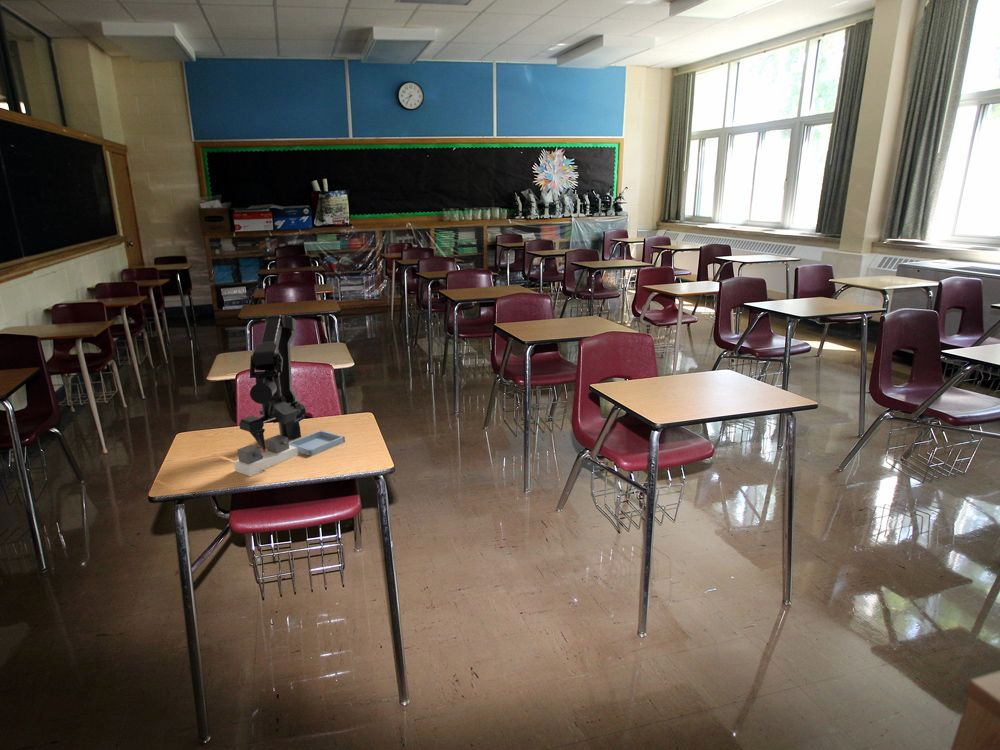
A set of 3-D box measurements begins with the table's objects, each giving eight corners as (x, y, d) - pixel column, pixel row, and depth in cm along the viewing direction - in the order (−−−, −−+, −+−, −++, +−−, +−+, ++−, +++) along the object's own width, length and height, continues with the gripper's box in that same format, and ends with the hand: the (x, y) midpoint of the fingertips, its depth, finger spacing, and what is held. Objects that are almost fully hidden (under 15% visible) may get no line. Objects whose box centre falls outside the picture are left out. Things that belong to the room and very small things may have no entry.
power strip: (235, 471, 175) (232, 449, 173) (283, 452, 188) (280, 432, 186) (255, 478, 170) (251, 456, 168) (303, 458, 182) (300, 437, 181)
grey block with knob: (268, 458, 182) (265, 439, 180) (281, 453, 185) (278, 434, 184) (281, 463, 178) (279, 443, 177) (294, 457, 182) (292, 438, 180)
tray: (287, 450, 189) (286, 443, 188) (321, 437, 199) (321, 430, 198) (311, 457, 183) (310, 450, 182) (345, 443, 193) (344, 436, 192)
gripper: (258, 406, 165) (266, 461, 169) (315, 389, 180) (321, 439, 184) (234, 400, 172) (242, 453, 176) (291, 383, 186) (297, 432, 190)
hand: (277, 444), depth 181 cm, fingers open, 9 cm apart
